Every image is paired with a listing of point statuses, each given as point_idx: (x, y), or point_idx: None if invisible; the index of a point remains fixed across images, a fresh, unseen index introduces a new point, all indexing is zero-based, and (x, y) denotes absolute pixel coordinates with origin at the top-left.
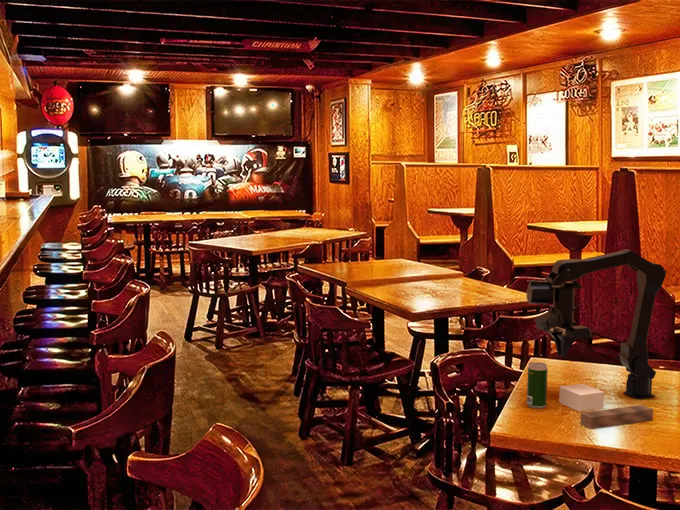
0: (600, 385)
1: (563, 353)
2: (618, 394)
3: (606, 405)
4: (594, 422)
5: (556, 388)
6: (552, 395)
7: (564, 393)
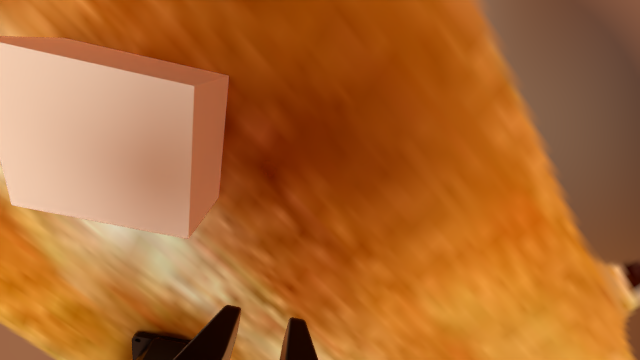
0: None
1: (195, 340)
2: None
3: None
4: None
5: (388, 229)
6: (330, 139)
7: (160, 72)
